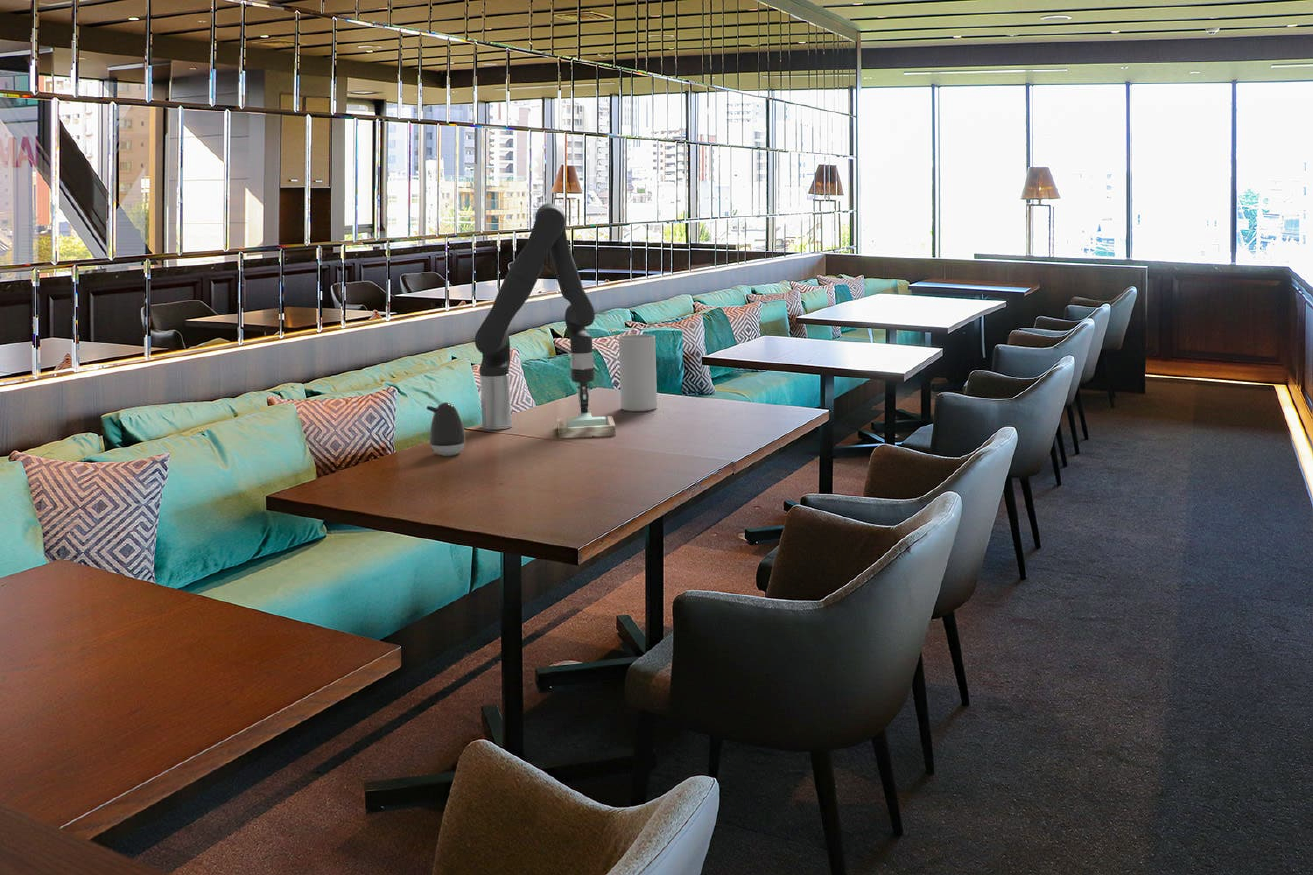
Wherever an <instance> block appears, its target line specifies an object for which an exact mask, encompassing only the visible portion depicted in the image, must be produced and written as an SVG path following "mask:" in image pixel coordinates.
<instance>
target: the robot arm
mask: <svg viewBox="0 0 1313 875" xmlns="http://www.w3.org/2000/svg"><path fill="white" fill-rule="evenodd" d="M534 217H535V218H534V223H533V226H532V228H531V231H530V234H529V237H528V239H527V241H526V243H525V245H524V246H523V248H522V249H521V251H520V253H518V255H517V256H516V258H515V259H514V260H513V263H512V264H511V265H510V267H509V269H508V272H507V273H506V275H505V276H504V280H503V281H502V283H501V287H500V288H499V290H498V292H497V294H496V297H495V299H494V302H493V304H492V306H491V309H490V310H489V312H488V314H487V316H486V317H485V319H484V320H483V321H482V323H481V325H480V327H479V328H478V330H477V331H476V334H475V336H474V345H475V348H476V349H477V351H478V352H479V353H480V354H481V355H482V357H481V358H482V359H481V364H480V365H479V383H480V396H481V397H480V398H481V400H480V404H481V405H480V408H481V409H480V410H481V423H482V430H491V431H492V430H495V431H497V430H506V429H509V428H511V427H512V426H513V425H512V408H511V407H512V406H511V390H510V389H511V387H510V385H511V384H510V364H511V343H510V340H511V339H510V334H509V332H508V329H509V327H510V324H511V322H512V321H513V318H514V317H515V316H516V314H517V313H518V312H519V311H520V309H521V308H523V306H524V304H525V303H526V302H527V300H528V299H529V298H530V295H531V293H532V292H533V290H534V288H535V285H536V284H537V282H538V279H539V277H540V274H541V273H542V270H543V268H544V264H545V262H546V259H547V256H548V255H549V253H550V255H551V259H552V264H553V268H554V273H555V276H556V280H557V283H558V286H559V290H560V293H561V296H562V297H563V299H565V300H566V301H567V302H569V304H570V305H568V306H567V308H566V309H565V314H564V321H565V326H566V330H567V334H568V337H569V340H570V345H569V346H570V360H569V361H570V380H571V382H573V383H578V386H576V391H577V392H576V393H577V399H578V403H579V408H580V413H589V407H590V405H589V401H590V393H591V391H590V389H591V388H590V385H588V382H589V383H590V382H594V380H595V360H594V359H595V357H594V353H593V338H592V336H591V335H590V334H589V333H588V331H586V330H587V327H590V326H591V325H593V323H594V321H595V318H596V313H595V308H594V305H593V304H592V302H591V299H590V298H589V296H588V294H587V293H586V291H585V290H584V287H583V283H582V280H581V277H580V274H579V273H580V272H579V270H578V267H577V265H576V262H575V258H574V257H573V255H572V254H573V253H572V251H571V248H570V244H569V240H568V236H567V232H566V216H565V212H564V211H563V209H562V208H561V207H560V206H558V205H557V204H555V203H550V202H549V203H545V204H543V205H541V206H540V207H538V210H537V211H536V213H535V216H534Z"/></svg>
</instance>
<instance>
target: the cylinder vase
mask: <svg viewBox="0 0 1313 875" xmlns="http://www.w3.org/2000/svg"><path fill="white" fill-rule="evenodd" d="M656 348H657V347H656V336H655V335H652V334H626V335H620V336H619V337H618V354H619V356H618V359H619V360H618V361H619V382H620V383H619V384H620V385H619V387H620V390H619V391H620V393H619V394H620V408H621V410H623V411H626V412H648V411H649V412H650V411H653V410H656V409H657V407H658V396H657V395H658V394H657V392H658V390H657V360H656V359H657V357H656V355H657V354H656V353H657V352H656Z"/></svg>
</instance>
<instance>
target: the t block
mask: <svg viewBox="0 0 1313 875" xmlns="http://www.w3.org/2000/svg"><path fill="white" fill-rule="evenodd" d="M566 425H567V427H583V426H604V425H607V416H593V415H592V412H588V413H581V412H578V417H572V418H571V417H570V418H569V417H568V418H566Z"/></svg>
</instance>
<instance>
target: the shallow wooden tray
mask: <svg viewBox="0 0 1313 875" xmlns="http://www.w3.org/2000/svg"><path fill="white" fill-rule="evenodd" d="M557 434H558V438H559V439H567V438H568V439H569V438H573V439H574V438H590V437H592V436H595V437H610V436H611V437H612V436H616V424H615V421H614V419H613V416H612V415H608V416H606V425H604V426H583V427H564V423H563V418H561V417H560V418H557ZM592 438H593V437H592Z"/></svg>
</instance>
